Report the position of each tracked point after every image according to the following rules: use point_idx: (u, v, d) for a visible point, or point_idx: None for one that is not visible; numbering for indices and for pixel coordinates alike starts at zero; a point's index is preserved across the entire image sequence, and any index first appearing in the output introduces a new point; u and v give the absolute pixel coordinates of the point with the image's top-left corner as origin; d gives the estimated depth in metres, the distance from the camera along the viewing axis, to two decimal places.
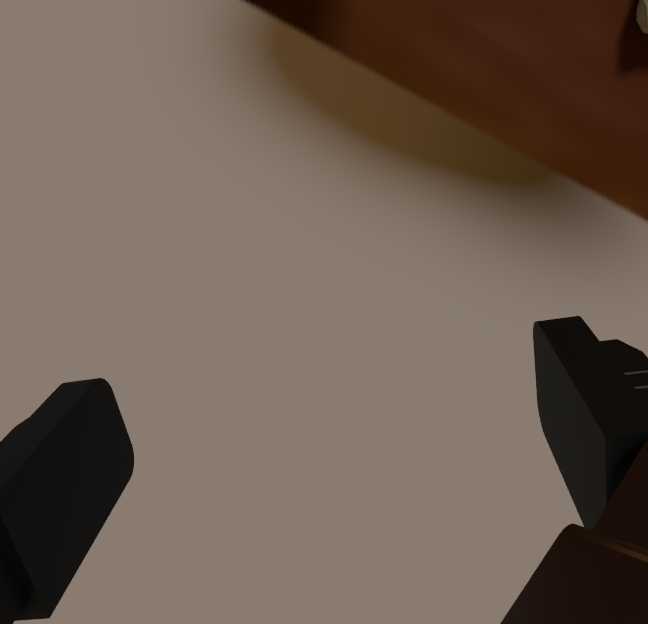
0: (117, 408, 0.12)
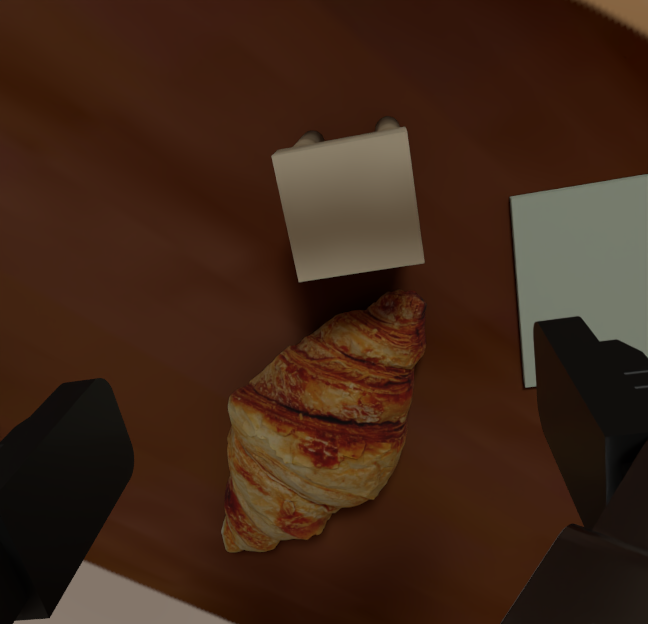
0: (117, 408, 0.12)
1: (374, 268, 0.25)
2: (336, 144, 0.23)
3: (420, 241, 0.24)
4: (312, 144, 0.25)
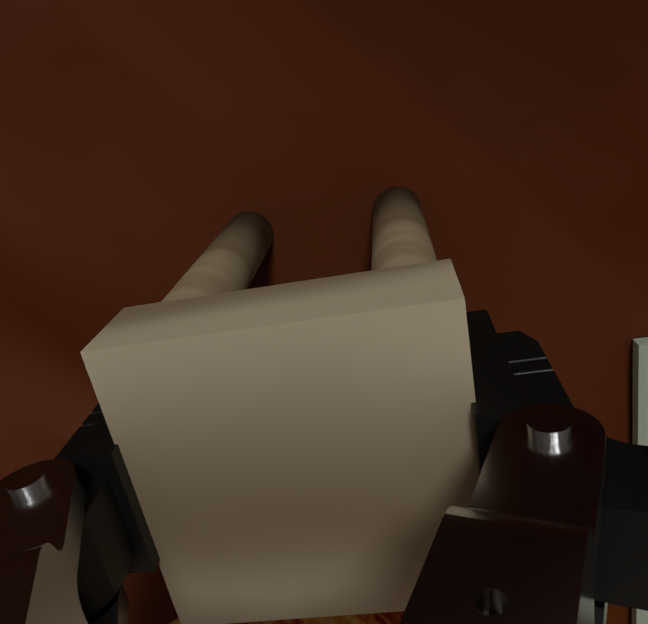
0: None
1: (368, 609, 0.10)
2: (260, 325, 0.08)
3: None
4: (207, 300, 0.09)
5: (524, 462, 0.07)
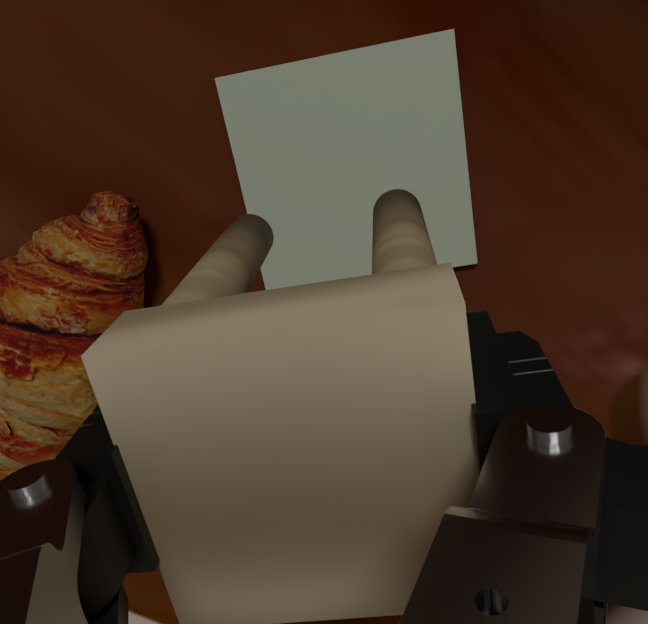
0: None
1: (368, 612, 0.10)
2: (260, 329, 0.08)
3: None
4: (208, 304, 0.10)
5: (524, 462, 0.07)
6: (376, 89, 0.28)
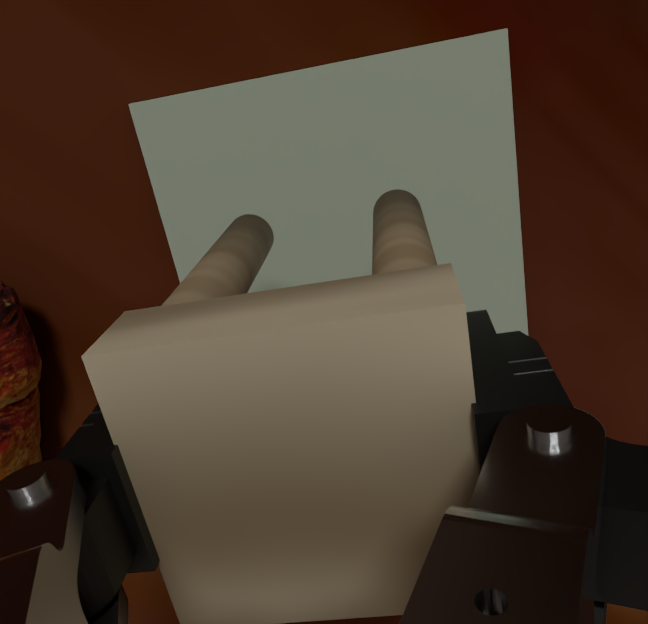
0: None
1: (368, 612, 0.10)
2: (260, 330, 0.08)
3: None
4: (208, 304, 0.10)
5: (524, 462, 0.07)
6: (381, 123, 0.18)
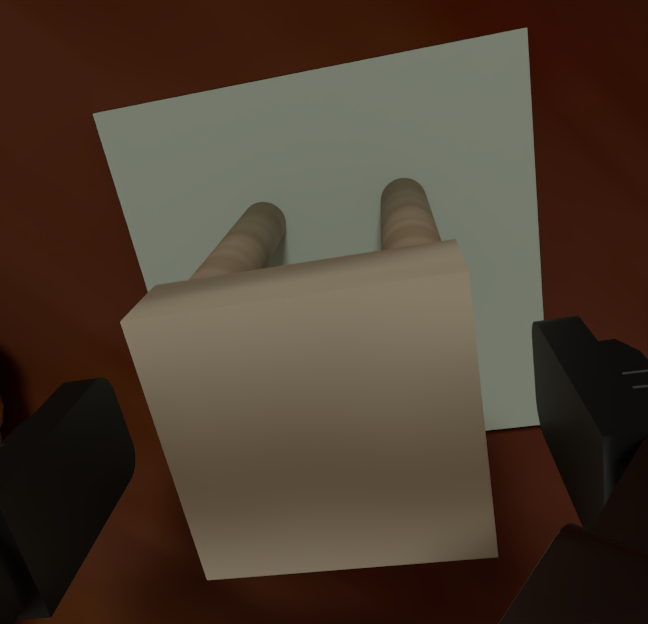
0: (118, 407, 0.12)
1: (379, 562, 0.11)
2: (283, 297, 0.09)
3: (491, 514, 0.10)
4: (233, 277, 0.10)
5: None
6: (381, 136, 0.16)
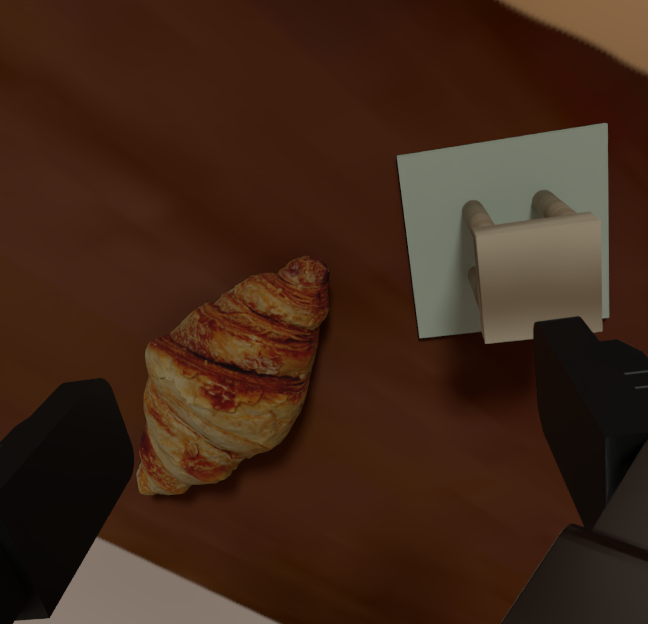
0: (117, 408, 0.12)
1: None
2: (535, 228, 0.27)
3: (601, 312, 0.28)
4: (505, 224, 0.28)
5: None
6: (535, 170, 0.33)
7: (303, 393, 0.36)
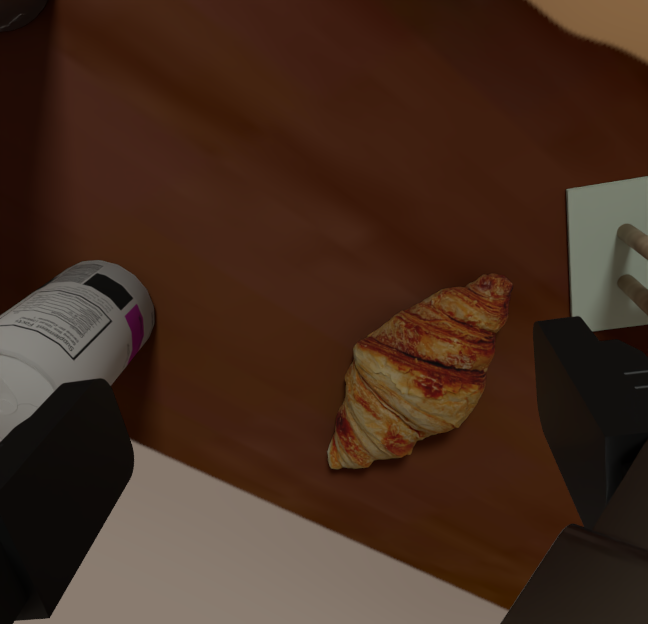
0: (117, 408, 0.12)
1: None
2: None
3: None
4: None
5: None
6: None
7: (485, 383, 0.45)
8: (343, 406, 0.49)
